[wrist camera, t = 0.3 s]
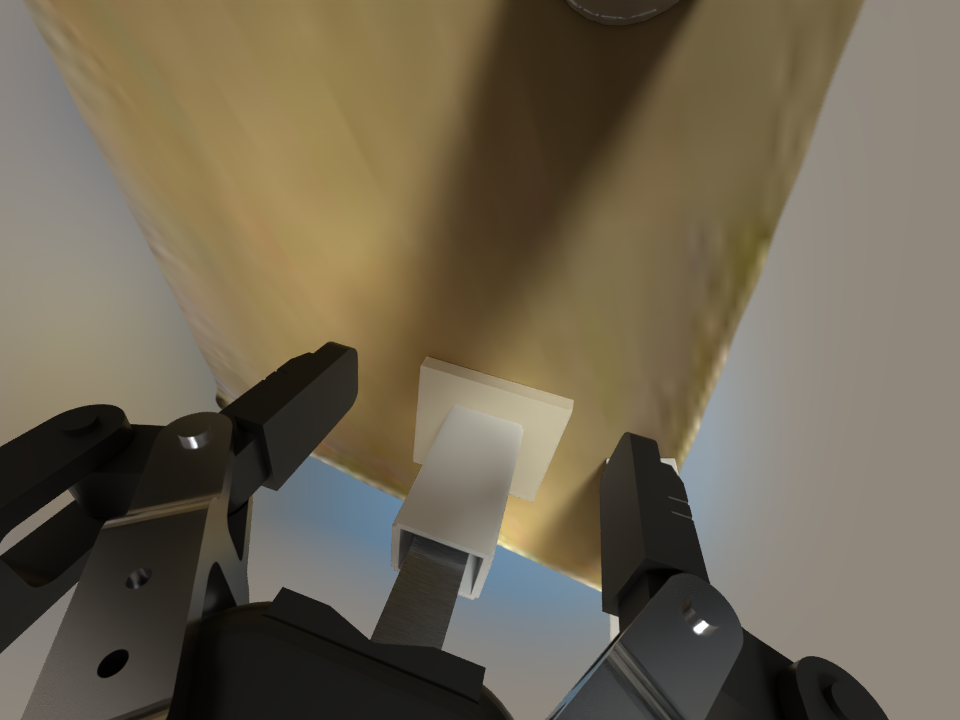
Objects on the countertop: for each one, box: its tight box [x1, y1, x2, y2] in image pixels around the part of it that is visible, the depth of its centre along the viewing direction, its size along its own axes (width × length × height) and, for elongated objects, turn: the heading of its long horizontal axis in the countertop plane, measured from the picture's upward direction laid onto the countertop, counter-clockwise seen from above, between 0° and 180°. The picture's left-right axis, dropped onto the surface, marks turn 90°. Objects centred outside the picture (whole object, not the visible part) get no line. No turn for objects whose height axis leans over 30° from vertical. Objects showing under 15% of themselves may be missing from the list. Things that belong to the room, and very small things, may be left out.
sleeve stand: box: [391, 356, 573, 600], centre depth 32 cm, size 14×14×15 cm
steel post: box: [370, 534, 470, 650], centre depth 29 cm, size 5×4×19 cm
